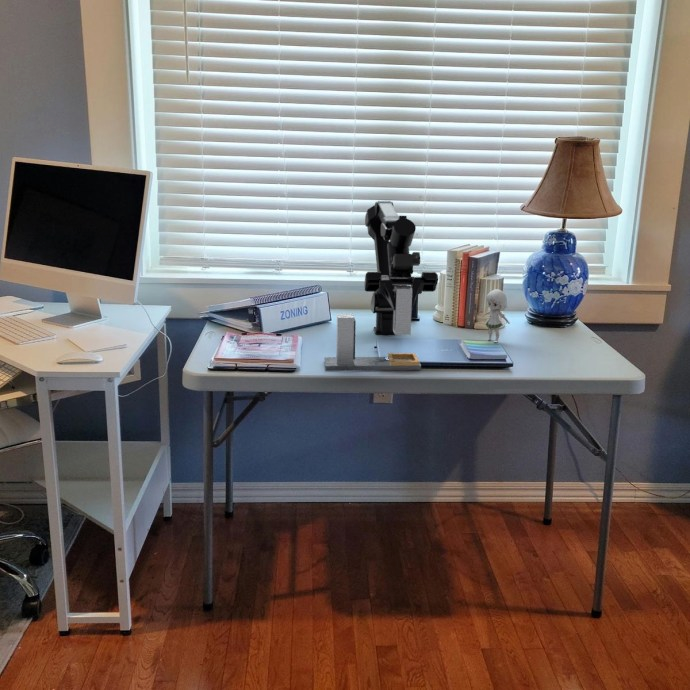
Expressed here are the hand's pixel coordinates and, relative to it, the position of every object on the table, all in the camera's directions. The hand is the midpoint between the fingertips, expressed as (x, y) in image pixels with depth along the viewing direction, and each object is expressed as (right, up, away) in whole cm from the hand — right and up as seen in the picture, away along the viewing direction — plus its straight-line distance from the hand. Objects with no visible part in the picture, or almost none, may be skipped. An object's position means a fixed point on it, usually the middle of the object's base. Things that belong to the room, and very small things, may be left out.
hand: (403, 309), depth 198 cm
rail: (-8, -14, 0) cm, 16 cm away
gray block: (0, -6, +3) cm, 7 cm away
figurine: (+28, -8, +23) cm, 37 cm away
